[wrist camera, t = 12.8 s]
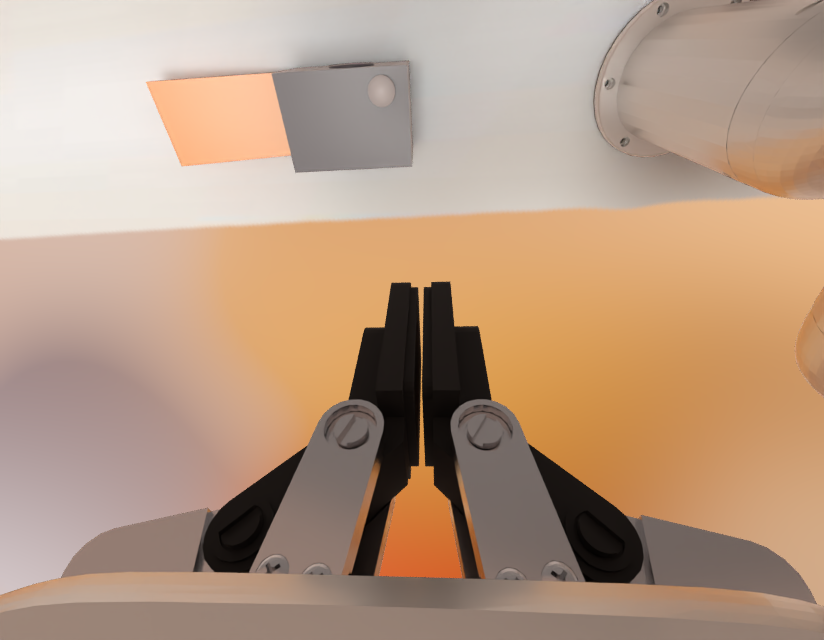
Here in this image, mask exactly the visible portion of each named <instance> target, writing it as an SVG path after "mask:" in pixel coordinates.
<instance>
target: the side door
mask: <svg viewBox="0 0 824 640" xmlns="http://www.w3.org/2000/svg"><path fill="white" fill-rule="evenodd" d="M273 73H275V72H273ZM146 83H147V86H148V88H149V90H150V93H151V95H152V97H153V100H154V102H155V105H156V107H157V109H158V112H159V114H160V116H161V119H162V121H163V123H164V126H165V128H166V130H167V133H168V135H169V137H170V140H171V142H172V144H173V147H174V149H175V151H176V154H177V156H178V159H179V161H180V163H181V166H190V165H200V164H210V163H220V162H230V161H240V160H250V159H260V158H270V157H280V156H289V155H291V152H290V148H289V144H288V140H287V136H286V132H285V127H284V123H283V119H282V115H281V111H280V107H279V103H278V99H277V94H276V90H275V86H274V82H273V78H272V74H271V73H259V74H245V75H231V76H218V77H204V78H190V79H176V80H162V81H149V82H146Z"/></svg>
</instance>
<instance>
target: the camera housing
mask: <svg viewBox="0 0 824 640" xmlns="http://www.w3.org/2000/svg"><path fill="white" fill-rule="evenodd" d="M271 74H272V78H273V82H274V86H275V90H276V94H277V99H278V103H279V107H280V111H281V115H282V119H283V123H284V127H285V132H286V136H287V140H288V144H289V148H290V152H291V156H292V160H293V165H294V169H295V172H315V171H334V170H354V169H374V168H393V167H412V158H413V138H412V116H411V94H410V73H409V61H396V62H380V63H374V62H363V63H347V64H336V65H329V66H317V67H301V68H293V69H289V70H284V71H280V72H275V73H271Z"/></svg>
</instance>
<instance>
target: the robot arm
mask: <svg viewBox="0 0 824 640" xmlns="http://www.w3.org/2000/svg"><path fill="white" fill-rule="evenodd" d="M658 7H660V11H659V13H658V14H657V10H658ZM607 80H608V85H606V86H605V83H606V81H607ZM594 106H595V117H596V120H597V124H598V127H599V130H600V131H601V133H602V135H603V137H604V138H605V139H606V140H607V141H608V142H609V143H610V144H611V145H612V146H613V147H614V148H616V149H618V150H619V151H621V152H624V153H626V154H628V155H631V156H637V157H655V156H659V155H664V154H668V153H670V152H672V153H675V154H677V155H679V156H681V157H684V158H686V159H688V160H691V161H693V162H695V163H698V164H700V165H702V166H704V167H707V168H709V169H711V170H714V171H716V172H718V173H720V174H723V175H725V176H727V177H730V178H732V179H734V180H737V181H739V182H742V183H744V184H746V185H749V186H751V187H753V188H756V189H758V190H761V191H763V192H765V193H769V194H772V195H775V196H778V197H784V198H790V199H824V0H757V1H750V0H654V1H653V2H651V3H650V4H649V5H647V6H646V7H645V8H643V9H642V10H641V11H640V12H639V13H638V14H637V15H636V16H635V17H634V18H633V19H632V20H631V21H630V22H629V23H628V24H627V26H626V27H625V28H624V30H623V31H622V32H621V33H620V35H619V36H618V37H617V39H616V40H615V42H614V44H613V45H612V47H611V49H610V51H609V52H608V54H607V56H606V58H605V61H604V63H603V65H602V68H601V70H600V73H599V77H598V81H597V85H596V90H595V100H594ZM621 139H623V141H622V142H620V141H621ZM423 311H424V313H423V366H422V368H423V369H422V399H423V423H424V445H425V466H434V485H435V486H436V487H437V488H438V489H439V490H440V491H441V492H442V493H443V494H444V495H445V496H446V497H447V498H448V504H449V510H450V515H451V520H452V526H453V531H454V536H455V541H456V547H457V552H458V557H459V562H460V567H461V572H462V578H463V579H462V578H426V577H389V576H388V577H387V576H379V573H380V568H381V564H382V560H383V555H384V550H385V546H386V541H387V537H388V532H389V528H390V522H391V518H392V513H393V509H394V504H395V496H396V495H397V494H398V493H399V492H400V491H401V490H402V489H403V488H405V487H406V486H407V484H408V479H410V478H411V466H419V437H420V435H419V433H420V390H421V346H420V321H419V297H418V288H417V287H411V283H392V284H391V289H390V296H389V303H388V309H387V316H386V322H385V328H365V330H364V333H363V337H362V342H361V346H360V351H359V355H358V360H357V364H356V369H355V374H354V378H353V383H352V387H351V392H350V396H349V400H347V401H343V402H340V403H338V404H336V405H334V406H332V407H331V408H330V409H329V410H327V411H326V412H325V413H324V414H323V416H322V418H321V419H320V420H319V422H318V424H317V426H316V429H315V431H314V433H313V435H312V437H311V439H310V442H309V444H308V446H306V447H305V448H303V449H302V450H301V451H299V452H298V453H296V454H295V455H293V456H292V457H291V458H289V459H288V460H286V461H285V462H284V463H282V464H281V465H279V466H278V467H277V468H275V469H274V470H272V471H271V472H270V473H268V474H267V475H266V476H264V477H263V478H261V479H260V480H259V481H257V482H256V483H254V484H253V485H251V486H250V487H249V488H247V489H246V490H244V491H243V492H242V493H240V494H239V495H237V496H236V497H235V498H233V499H232V500H230V501H229V502H228V503H227V504H226V505H225V506H223V507H222V508H221V509H220V510H216V511H210V510H209V508H205V509H200V510H196V511H191V512H187V513H182V514H178V515H173V516H169V517H164V518H160V519H155V520H151V521H146V522H142V523H137V524H132V525H128V526H123V527H119V528H114V529H112V530H109V531H107V532H104V533H101V534H100V535H98V536H97V537H95V538H94V539H92V540H91V541H89V542H88V543H87V544H86V545H84V547H82V548H81V549H80V550H79V552H77V553H76V555H75V556H74V557H73V558H72V560H71V561H70V563H69V564H68V566H67V568H66V569H65V571H64V572H63V575H62V577H61V578H58V579H54V580H49V581H45V582H41V583H36V584H33V585H30V586H27V587H23V588H20V589H17V590H14V591H11V592H8V593H5V594H2V595H0V640H824V606H820V605H817V603H816V601H815V599H814V597H813V595H812V593H811V591H810V589H809V588H808V586H807V585H806V583H805V582H804V580H803V579H802V577H801V576H800V575H799V573H798V572H797V571H796V570H795V569H794V568H793V567H792V566H791V565H790V564H789V563H787V561H786V560H785V559H783V558H782V557H780V556H779V555H777V554H776V553H774V552H773V551H771V550H770V549H768V548H767V547H764V546H761V545H759V544H756V543H754V542H751V541H747V540H743V539H739V538H735V537H731V536H727V535H723V534H718V533H714V532H710V531H706V530H702V529H698V528H693V527H689V526H685V525H681V524H677V523H673V522H669V521H664V520H660V519H656V518H652V517H648V516H644V515H641V516H640V517H639V518H638V519H637V518H633V517H628V516H625V515H624V514H623V513H622V512H621V511H620V510H618V509H617V508H616V507H615V506H614V505H612V504H611V503H609V502H608V501H607V500H605V499H604V498H603V497H601V496H600V495H598V494H597V493H596V492H594V491H593V490H591V489H590V488H589V487H587V486H586V485H584V484H583V483H582V482H580V481H579V480H578V479H576V478H575V477H573V476H572V475H571V474H569V473H568V472H567V471H565V470H564V469H562V468H561V467H560V466H558V465H557V464H556V463H554V462H553V461H551V460H550V459H549V458H547V457H546V456H545V455H543V454H542V453H540V452H539V451H538V450H536V449H535V448H534V447H532V446H531V445H529V444H528V443H527V440H526V438H525V436H524V433H523V431H522V429H521V426H520V424H519V422H518V420H517V419H516V417H515V415H514V414H513V413H512V412H511V411H510V410H509V409H508V408H507V407H505V406H503V405H501V404H499V403H498V402H495V401H492V400H491V394H490V389H489V383H488V377H487V371H486V366H485V360H484V354H483V349H482V343H481V338H480V332H479V328H478V326H470V327H469V326H463V327H454V318H453V307H452V297H451V285H450V282H431V287H424V309H423ZM795 356H796V361H797V364H798V367H799V369H800V371H801V373H802V375H803V376H804V378H805V379H806V380H807V382H808V383H809V384H810V385H811V386H812V387H813V388H814V389H815V390H816V391H817V392H818V393H819V394H820V395H821V396H823V397H824V287H823V289H822V290H821V292H820V294H819V295H818V297H817V298H816V300H815V302H814V304H813V306H812V308H811V309H810V311H809V313H808V314H807V316H806V318H805V320H804V322H803V324H802V326H801V328H800V330H799V333H798V336H797V339H796V344H795Z"/></svg>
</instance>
